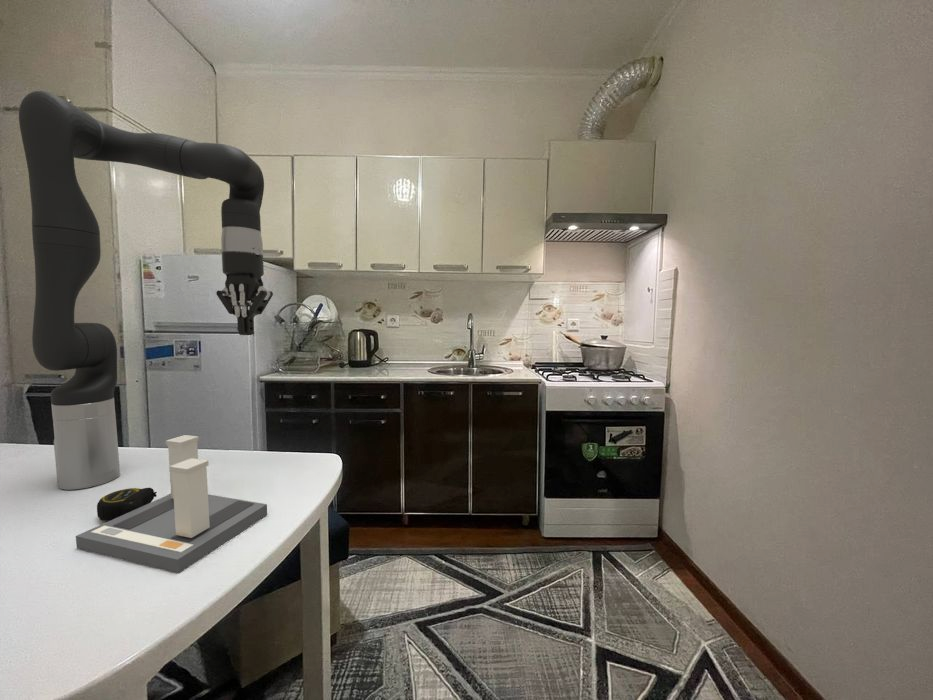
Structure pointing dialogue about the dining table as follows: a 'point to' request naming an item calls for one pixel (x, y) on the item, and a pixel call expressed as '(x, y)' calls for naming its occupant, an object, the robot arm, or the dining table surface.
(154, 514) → the switch board
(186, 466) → the switch tab
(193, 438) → the switch tab
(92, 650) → the dining table surface
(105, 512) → the tape measure
